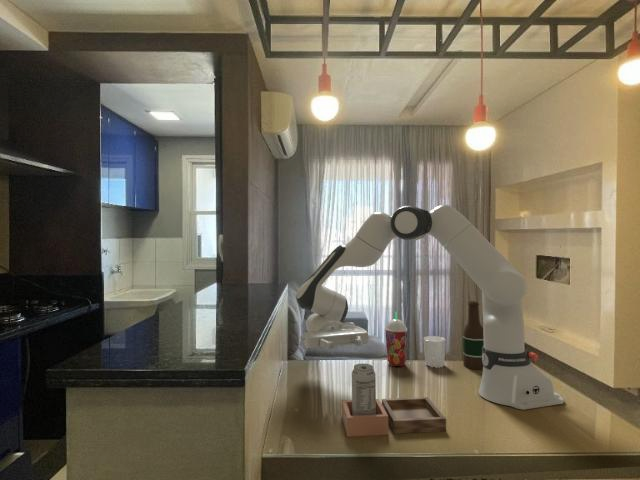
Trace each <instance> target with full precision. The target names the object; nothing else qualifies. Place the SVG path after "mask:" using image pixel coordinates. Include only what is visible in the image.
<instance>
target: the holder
mask: <svg viewBox="0 0 640 480" xmlns="http://www.w3.org/2000/svg"><path fill="white" fill-rule="evenodd" d="M341 408H342V409H341V414H342V415H341V416H342V417H341V419H342V423H343V426H344V429H345V430H344V431H345V433H346V436H347V438H349V437H350V438H351V437H367V436H368V437H369V436H388V435H389V423H388V415H387V413H386V411H385V409H384V407H383V406H382V401H381V400H380V399H379V398H376V415H358V416H352V399H350V400H349V399H347V400H343V399H342V400H341Z"/></svg>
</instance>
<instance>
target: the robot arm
mask: <svg viewBox="0 0 640 480" xmlns="http://www.w3.org/2000/svg"><path fill="white" fill-rule="evenodd" d="M426 235H429V236H432V237H433V238H434V239H436V240H437V242H438V243H439V244H440V245H441V246H442V247H443V248H444V249H445V250H446V252H447V253H448V254H449V255H450V256H451V258H453V259H454V260H455V261H456V262H457V264H458V265H459V266H460V267H461V268H462V269H463V271H464V272H465V273H466V274H467V275H468V276H469V277H470V279H471V280H472V281H473V282H474V283H475V285H476V286H477V287H478V288H479V289H480V291H481V297H482V298H481V301H482V304H481V305H482V327H483V337H484V346H483V347H482V363H483V369H482V376H481V380H480V386H479V388H478V389H479V390H478V395H479V396H480V397H482V398H484V399H485V400H487V401H489V402H493V403H496V404H498V405H504V406H509V407H512V408H515V409H518V410H523V411H525V410H530V409H531V410H532V409H538V408H544V407H550V406H555V405H563V404H564V402H565V401H564V397H562V395H560V394H559V393H558V392H556V391H555V390H554V389H555V388H554V385H553V381H552V379H551V378H550V376H548V374H546V373H545V372H543V371H542V370H541V369H540V368H538V367H537V366H535V365H534V364H533V362H532V361H535V362H536V361H538V359H539V355H538V354H537V353H535V352H533V351H531V352H529V351H528V350H527V349H526V348H525V322H524V315H523V305H522V304H523V303H522V300H523V298H524V297H525V296H526V292H527V282H526V279H525V278H524V276H523V275H522V274H521V272H519V271H518V269H517V268H516V267H515V266H514V265H513V264H512V263H511V262H510V261H509V260H508V259H507V258H505V256H504V255H503V254H502V253H501V252H500V251H499V250H498V249H497V248H495V246H494V245H492V243H490V241H488V240H487V238H486V237H485V236H484V235H483V234H482V232H480V231H479V229H478V228H477V227H475V225H473V224H472V223H471V221H469V220H468V218H467V217H466V216H464V214H462V213H461V212H460V211H459V210H457V209H456V208H455V207H452V205H449V204H441V205H438V206H436V207H434V208H433V209H431V210H430V211H428V209H427V210H426V209H423V208H419V207H417V206H414V205H404V206H400V207H398V208H397V209H396V210H395V211H394V212H393V214H392V215H389V214H387V213H385V212H383V211H376V212H373V213H372V214H371V215H370V216H368V218H366V220H365V221H364V222H363V224H362V225H361V226H360V228H359V229H358V231H357V232H356V233H355V236H353V238H352V239H351V240H350V241H349V242H347V243H345V244H340V245H338V246H337V247H336V248H334V249H333V250H332V251H331V252H330V253H329V255H328V256H327V257H326V258H325V259H324V260H323V262H321V264H320V265H319V266H318V268H317V269H315V271H314V272H313V274H311V276H309V278H307V279H306V280H305V281H304V282H303V283H302V284H301V285H300V287H299V288H298V290H297V293H296V297H295V298H296V302H297V304H298V306H299V307H300V309H303V310H305V311H307V312H311V313H312V314H310V315H309V316H308V317H307V318H306V320H305V327H306V332H304V334H303V335H300V337H299V338H300V339H301V341H304V346H305V347H306V348H307V349H309V350H310V349H311V350H312V349H322V348H325V349H326V350H328V349H334V348H337V347H342V346H343V347H344V346H353V345H355V346H357V347H361V346H363V344H364V345H365V344H367V343H369V332H368V331H367V330H366V329H365V328H362V327H360V326H358V325H356V324H355V323H354V322H351V321H345V319H346V317H347V315H348V312H349V303H348V300H347V298H346V296H345V295H343V294H341V293H339V292H337V291H335V290H332V289H330V288H328V287H326V286H323V284H324V283H325V282H326V281H327V280H328V278H329V277H331V276H332V274H333V273H334V272H335V271H336V270H338V269H340V268H343V267H355V268H365V267H366V268H368V267H371V266H373V265H375V264H376V263H377V262H378V261H379V260H380V259H381V257H382V255H383V254H384V252H385V251H386V249H387V247H388V245H389V244H390V243H391V242H392V241H393V240H394V239H396V238H399V239H401V240H405V241H408V242H413V241H418V240H420V239H422V238H424V237H426ZM531 360H532V361H531Z"/></svg>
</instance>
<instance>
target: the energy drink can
mask: <svg viewBox="0 0 640 480" xmlns="http://www.w3.org/2000/svg"><path fill="white" fill-rule="evenodd" d="M376 380H377V379H376V372H375V370H374V366H373V365H372V364H369V363H357V364H354V366H353V369H352V371H351V400H352V416H358V415H376V399H377V397H376V396H377V394H376V393H377V392H376V391H377V389H376V387H377V386H376V385H377V382H376Z"/></svg>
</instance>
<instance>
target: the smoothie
mask: <svg viewBox="0 0 640 480" xmlns="http://www.w3.org/2000/svg"><path fill="white" fill-rule="evenodd" d="M384 330H385V343H386V355H387V357H386V358H387V362H388V365H389V364H390V366H391V365H392V367H394V366H402V367H404V366H405V363H406V362H407V361H406V360H407V343H408V328H407V326H406V324H405V323H404V321H403V320H402V319H398V312H397V311H394V318H393V319H391V320H390V321H388V323H387V324H386V326H385V328H384ZM403 365H404V366H403Z"/></svg>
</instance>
